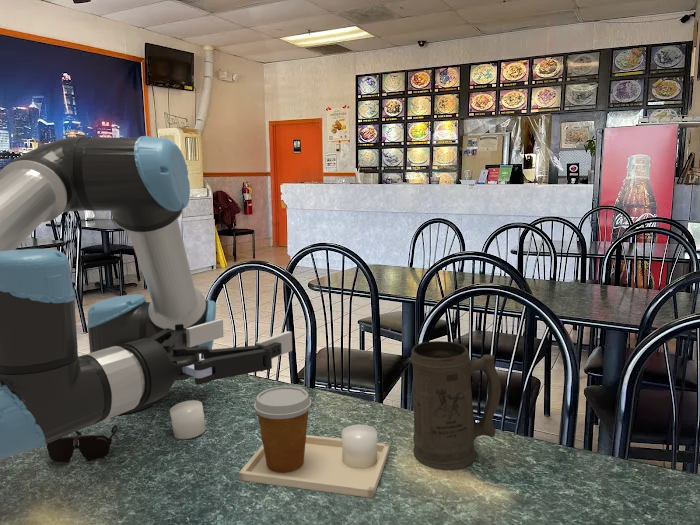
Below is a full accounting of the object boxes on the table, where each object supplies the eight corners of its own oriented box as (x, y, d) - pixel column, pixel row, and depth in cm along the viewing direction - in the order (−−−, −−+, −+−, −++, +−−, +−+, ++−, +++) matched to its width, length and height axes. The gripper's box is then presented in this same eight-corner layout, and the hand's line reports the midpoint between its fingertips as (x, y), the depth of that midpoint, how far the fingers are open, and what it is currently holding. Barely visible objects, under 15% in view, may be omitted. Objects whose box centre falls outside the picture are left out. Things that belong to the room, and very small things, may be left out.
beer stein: (419, 476, 90) (420, 359, 87) (402, 445, 100) (403, 340, 97) (507, 468, 92) (512, 354, 89) (482, 439, 103) (485, 336, 100)
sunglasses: (43, 468, 93) (42, 439, 93) (67, 444, 105) (66, 418, 105) (109, 462, 95) (107, 433, 95) (125, 439, 107) (124, 414, 107)
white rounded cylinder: (346, 449, 98) (346, 422, 97) (380, 453, 96) (380, 426, 96) (338, 466, 92) (338, 438, 91) (373, 470, 91) (373, 442, 90)
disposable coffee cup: (308, 478, 88) (306, 407, 86) (250, 477, 89) (247, 407, 87) (316, 450, 97) (314, 385, 96) (264, 449, 98) (261, 385, 96)
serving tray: (273, 440, 102) (273, 431, 102) (389, 453, 97) (389, 444, 97) (239, 483, 88) (238, 472, 88) (373, 501, 83) (373, 490, 83)
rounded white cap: (167, 436, 104) (163, 412, 104) (188, 422, 110) (184, 399, 109) (191, 441, 102) (187, 416, 101) (212, 425, 107) (208, 402, 106)
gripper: (69, 387, 70) (197, 345, 88) (202, 433, 57) (323, 373, 74) (64, 330, 69) (195, 300, 87) (198, 364, 56) (321, 319, 73)
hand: (254, 334), depth 81 cm, fingers open, 13 cm apart
